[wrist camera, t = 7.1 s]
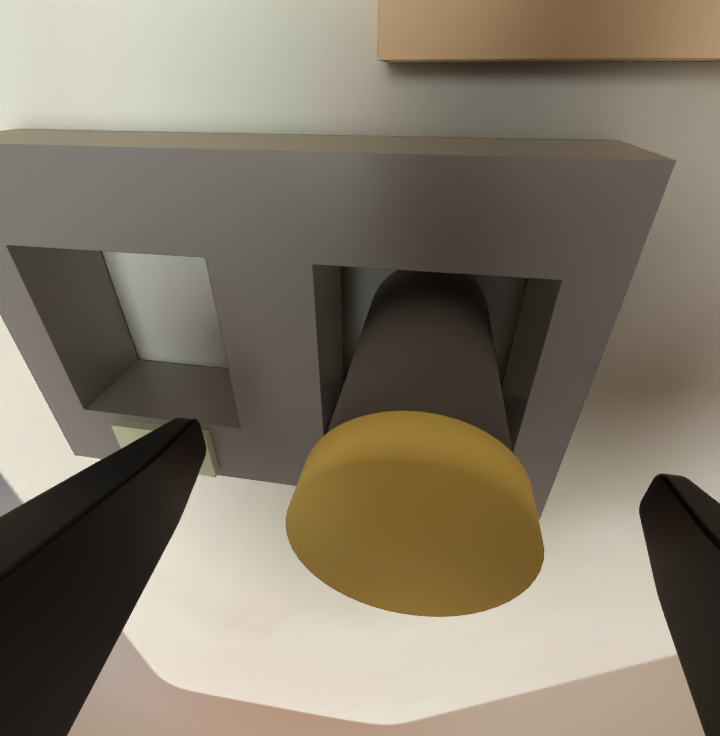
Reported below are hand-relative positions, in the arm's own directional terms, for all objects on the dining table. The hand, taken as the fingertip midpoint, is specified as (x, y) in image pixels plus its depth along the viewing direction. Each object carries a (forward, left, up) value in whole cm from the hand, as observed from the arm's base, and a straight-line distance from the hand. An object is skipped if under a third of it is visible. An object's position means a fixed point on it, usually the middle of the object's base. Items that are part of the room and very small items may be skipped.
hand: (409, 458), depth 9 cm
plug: (0, 0, -6) cm, 6 cm away
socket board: (+4, 0, -6) cm, 7 cm away
